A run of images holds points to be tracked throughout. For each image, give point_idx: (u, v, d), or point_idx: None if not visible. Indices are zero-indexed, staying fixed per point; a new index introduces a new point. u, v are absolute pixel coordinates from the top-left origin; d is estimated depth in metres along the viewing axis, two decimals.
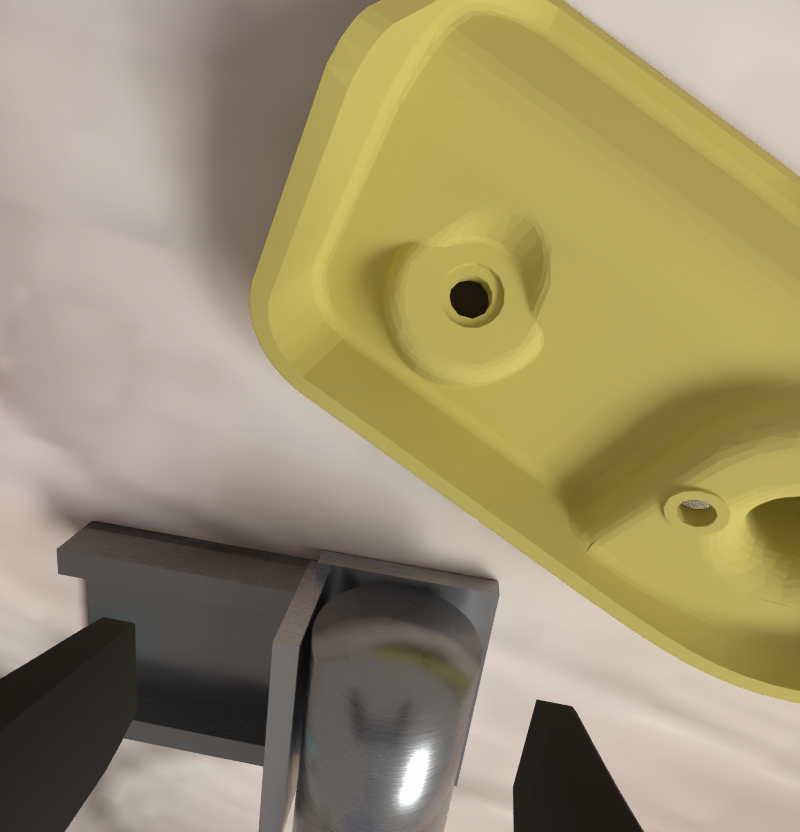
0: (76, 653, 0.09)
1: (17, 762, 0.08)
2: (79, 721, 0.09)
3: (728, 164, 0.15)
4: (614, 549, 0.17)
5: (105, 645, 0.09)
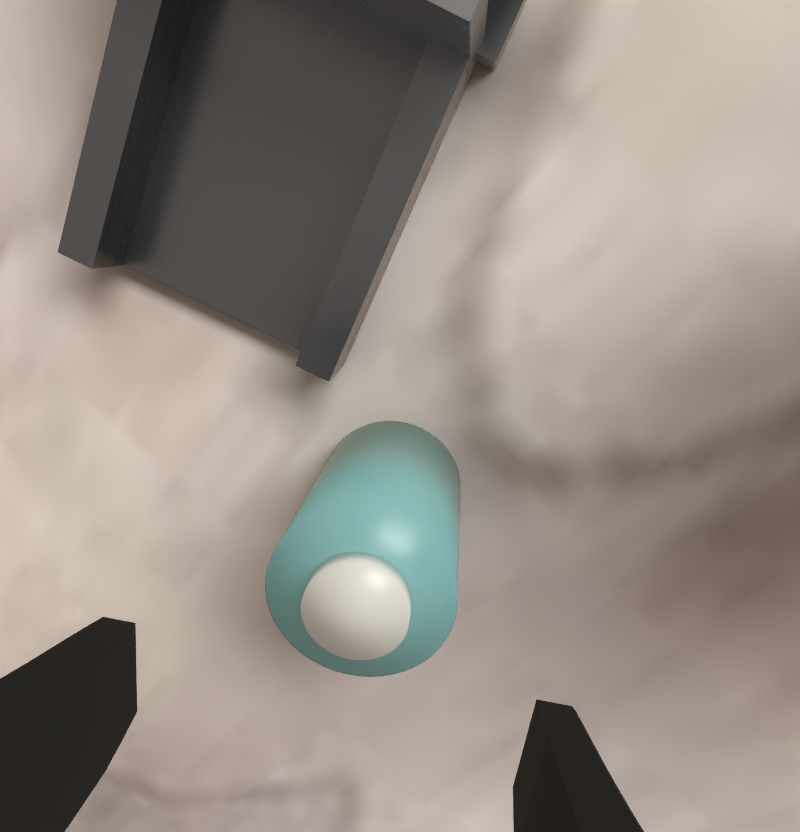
0: (76, 653, 0.09)
1: (17, 762, 0.08)
2: (79, 721, 0.09)
3: None
4: None
5: (105, 645, 0.09)
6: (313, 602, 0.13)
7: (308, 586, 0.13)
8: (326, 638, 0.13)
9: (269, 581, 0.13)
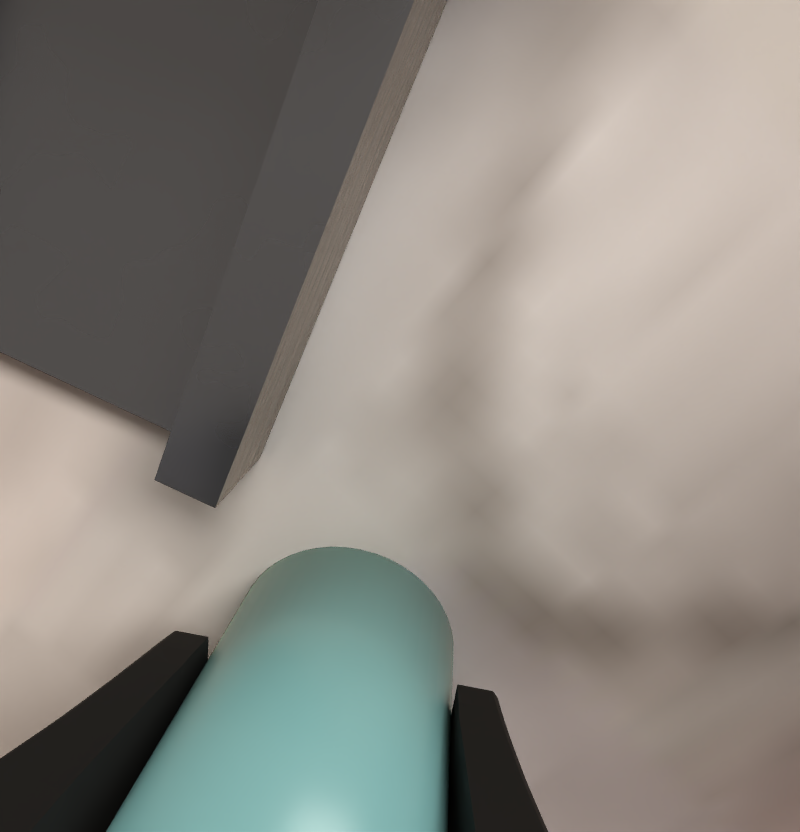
0: (159, 669, 0.09)
1: (112, 782, 0.08)
2: None
3: None
4: None
5: (185, 660, 0.09)
6: None
7: None
8: None
9: None
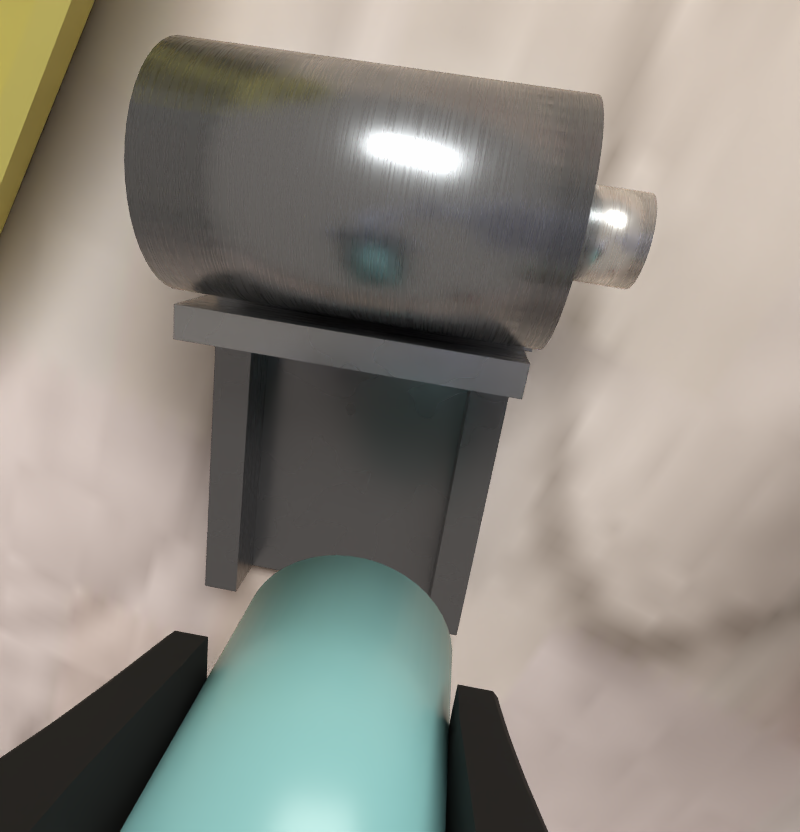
0: (158, 669, 0.09)
1: (112, 782, 0.08)
2: (161, 738, 0.09)
3: None
4: None
5: (185, 660, 0.09)
6: None
7: None
8: None
9: None
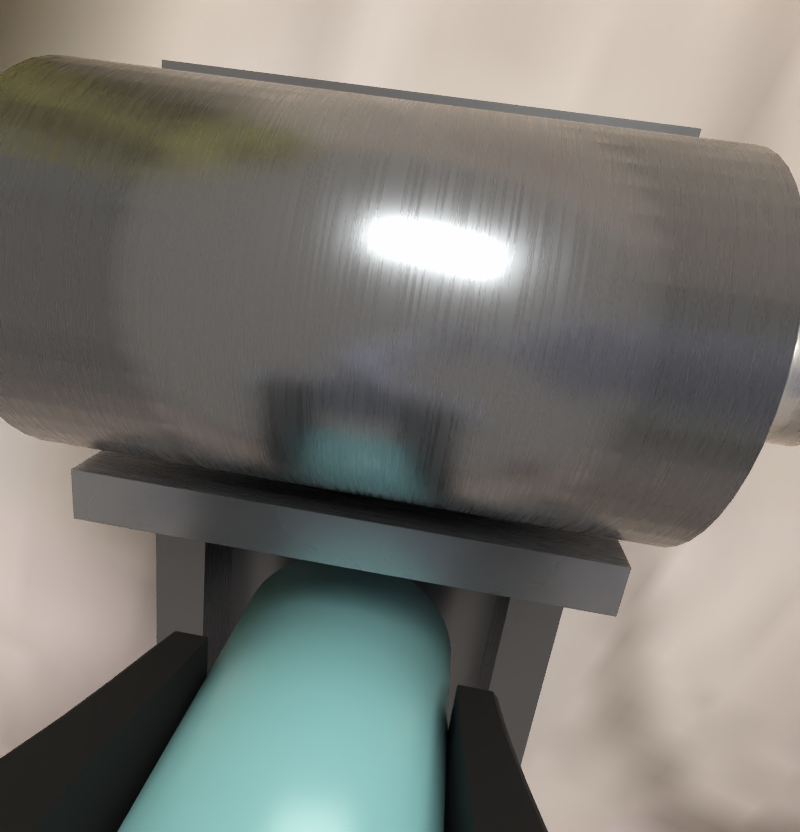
0: (158, 669, 0.09)
1: (112, 782, 0.08)
2: (162, 738, 0.09)
3: None
4: None
5: (185, 660, 0.09)
6: None
7: None
8: None
9: None
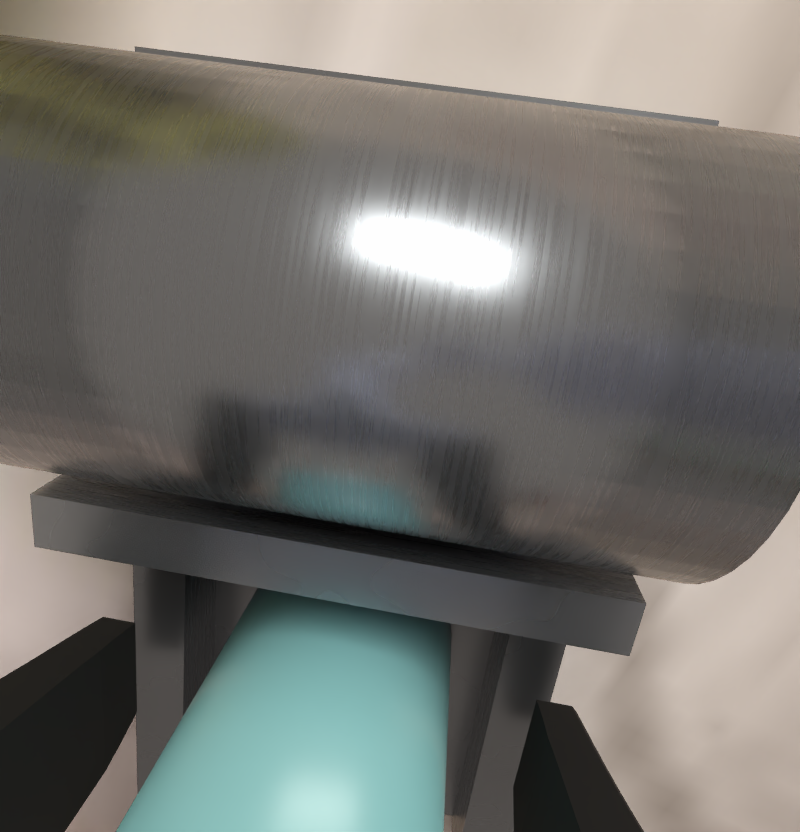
0: (76, 653, 0.09)
1: (17, 762, 0.08)
2: (79, 721, 0.09)
3: None
4: None
5: (105, 645, 0.09)
6: None
7: None
8: None
9: None
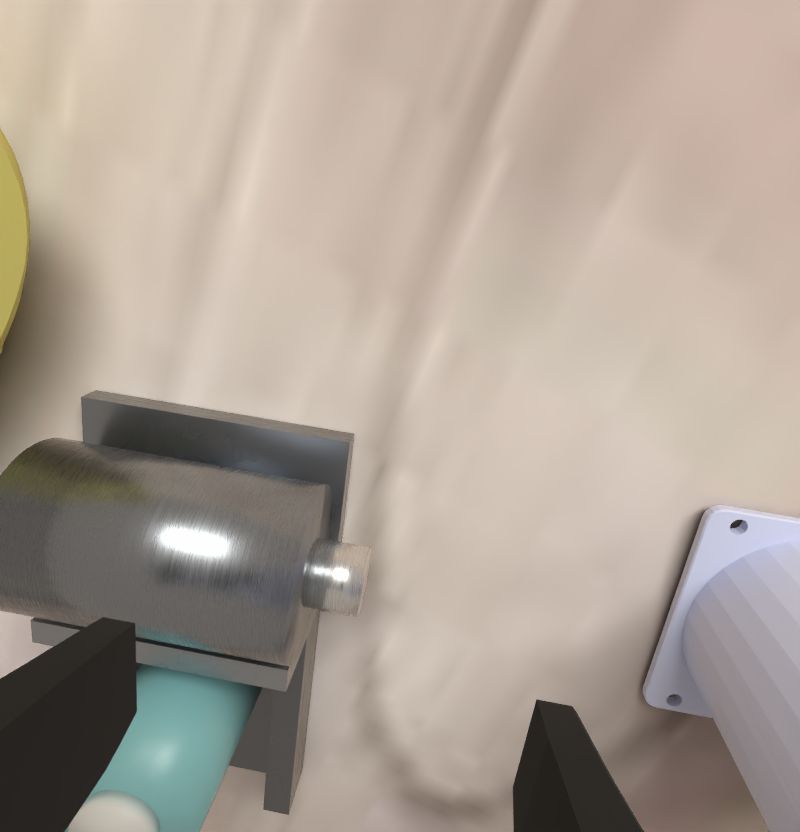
0: (76, 653, 0.09)
1: (17, 762, 0.08)
2: (79, 721, 0.09)
3: None
4: None
5: (105, 645, 0.09)
6: None
7: (71, 823, 0.16)
8: None
9: None
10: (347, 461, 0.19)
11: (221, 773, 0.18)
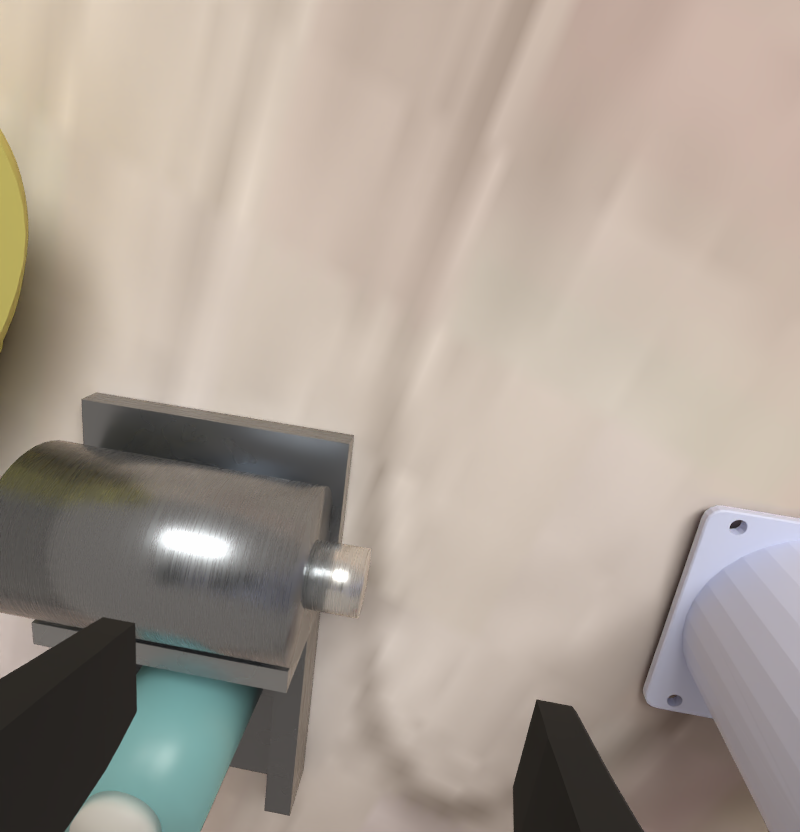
0: (76, 653, 0.09)
1: (17, 762, 0.08)
2: (79, 721, 0.09)
3: None
4: None
5: (105, 645, 0.09)
6: None
7: (72, 824, 0.16)
8: None
9: None
10: (347, 462, 0.19)
11: (222, 774, 0.19)
